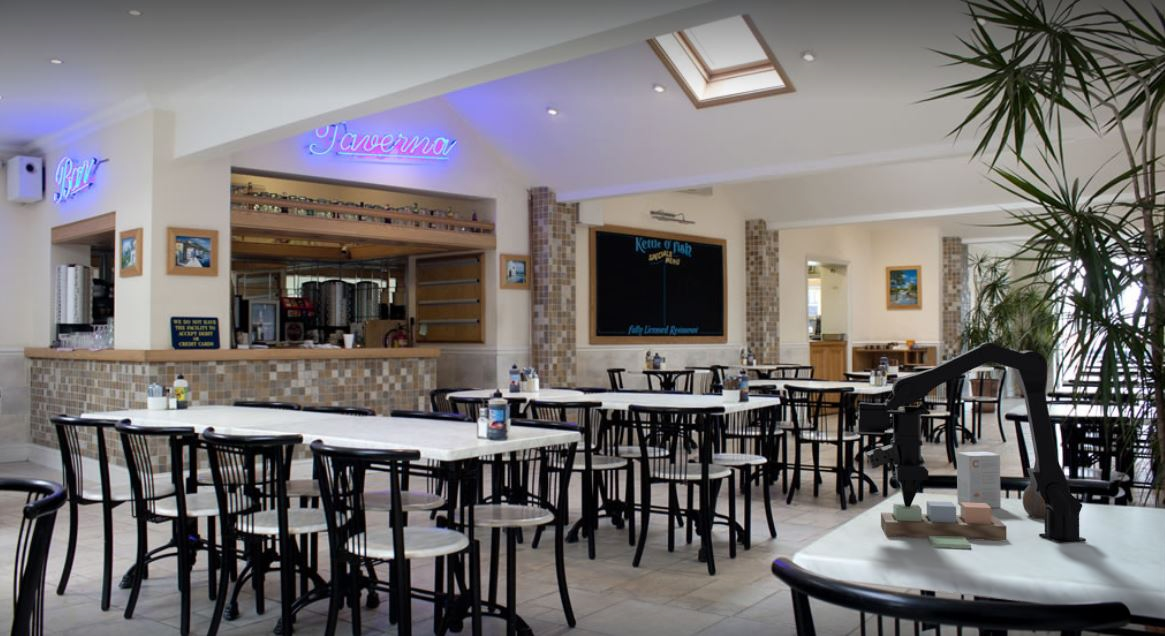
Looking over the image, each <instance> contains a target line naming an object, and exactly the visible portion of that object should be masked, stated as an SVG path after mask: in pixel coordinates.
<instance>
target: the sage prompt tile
mask: <svg viewBox="0 0 1165 636" xmlns="http://www.w3.org/2000/svg"><path fill="white" fill-rule="evenodd" d="M928 540H929V542H930V543H931V545H932V546H933V548H938V547H953V548H952V549H962V548H971V549H972V544H971V543H970V542H969V541H968V539H966V538H965V537H954V536H929V538H928Z"/></svg>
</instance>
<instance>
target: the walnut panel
mask: <svg viewBox="0 0 1165 636" xmlns="http://www.w3.org/2000/svg"><path fill="white" fill-rule="evenodd" d="M880 527H881V529H882V531H883V533H884V532H885V533H884V534H885V536H886V535H887V536H886V537H898V536H905V537H904V538H923V539H924V538H925V539H926V538H928V539H929V536H954V537H965V538H966V540H973V539H984V540H983V541H998V540H1007V526H1006V524H1004V523H1003V522H1002V521H1001V520H1000V519H999V518H998V517H997V516H994V515H991V524H981V523H963V522H962V520H961V514H956V523H953V522H929V521H928V520H927V513H922V521H899V520H894V518H893V512H880Z"/></svg>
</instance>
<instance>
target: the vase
mask: <svg viewBox="0 0 1165 636" xmlns="http://www.w3.org/2000/svg"><path fill="white" fill-rule="evenodd" d="M1022 506H1023V509H1024V511H1025V512H1026V513H1027V515H1029V517H1033V518H1041V519H1045V507H1048V506H1046V505H1045V502H1044V500H1043V499H1042V498H1041V497H1039V496H1038V495H1037V494H1036V492H1035V490H1034V489H1033V488H1031V487H1030V483H1029V484H1028V485H1027V486H1026V488H1025V489H1024V492H1023V495H1022Z"/></svg>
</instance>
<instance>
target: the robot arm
mask: <svg viewBox="0 0 1165 636" xmlns="http://www.w3.org/2000/svg"><path fill="white" fill-rule="evenodd" d="M989 362H991V363H994V364H998V365H1002V366H1005V367H1008V368H1011V369H1012V371H1013V373H1014V376H1015V378H1016V381H1017V383H1018V386H1019V387H1020V390H1021V391H1022V394H1023V398H1024V403H1025V408H1026V414H1027V419H1028V424H1029V431H1030V438H1031V441H1032V448H1033V453H1034V466H1033V467H1027V468H1026V469H1027V473H1028V476H1029V479H1030V483H1029V484H1030V487H1031V488H1033V489H1034V490H1035V492H1036V494H1037V495H1038V496H1039V497H1041V498H1042V499H1043V500H1044V502H1045V505H1046V506H1048V507H1045V518H1044V533H1039V534H1038V536H1039V537H1041V538H1043V539H1047V540H1049V541H1053V542H1056V543H1061V544H1063V543H1079V542H1087V538H1085V537H1082V536H1080V513H1081V510H1082V508H1083V504H1082V502H1080V501H1079V500H1078V499H1077V498H1076V497H1075V496H1074V495H1073V494H1071V489H1070V484H1069V482H1068V480H1067V477H1066V475H1065V472H1064V470H1063V468H1062V466H1061V464H1060V462H1059V460H1058V458H1057V457H1058V456H1057V452H1056V447H1055V441H1054V435H1053V429H1052V424H1051V423H1052V422H1051V417H1050V413H1049V408H1048V401H1047V396H1046V389H1047V383H1048V361H1047V359H1046V357H1045V356H1044V355H1043V354H1041V353H1040V352H1038V351H1033V350H1028V349H1027V350H1021V351H1017V350H1013V349H1010V348H1006V347H1003V346H999V345H996V344H995V343H994V342H982V343H980V344H979V345H978V346H975V347H974V348H972V349H970V350H968V351H966V352H963V353H961V354H960V355H956V356H955V357H952V358H951V359H949V360H947V361H945V362H942V363H940V364H938V365H936V366H934V367H932V368H929V369H926V370H922V371H919V372H914V373H910V374H907V375H904V376H900V377H898V378H897V379H895V380H894V382H893V384H892V386H891V390H892V391H891V393H890V394H889V396H888V397H887V398H886V399H885V401H884V402H883V403H867V402H859V403H858V416H857V430H858V431H857V433H858V434H862V435H863V434H868V435H869V434H871V435H885V434H886V431H888V430H891V415H892V437H891V439H890V444H888V445H885V446H882V447H881V446H880V447H878V448H874V449H872V450H869V451H867V452H865V454H866V458H867V460H868V462H869V465H870V467H871V468H872V470H873V469H878V468H879V467H880V466H884V465H886V464H887V467H888V468H889V469H890V468H893V467H895V470H894V471H890V472H891V474H892V475H893V476H894V478H895V479H896V480H897V481H898V483H899V486H900V487H899V488H900V491H901V492H900V493H901V495H902V496H901V497H902V500H903V504H904V505H905V506H906V507H910V506H911V504H913V502H914V499H915V497H916V495H917V493H918V490H919V488H920V486H921V484H922V482H923V481H929V470H928V469H927V468H926V467H925V466H924V465H923V462H924V461H923V459H922V446H923V440H922V432H921V431H922V427H921V426H922V424H921V423H922V421H921V418H922V416H923V415H924V416H926V415H931V411H930V410H929V409H927V408H926V407H925V405H924V403H922V402H919V404H918V405H917V406H915V405H913V404H915V403H917V402H918V401H919V400H921V399H923V398H924V397H926V396H927V395H928V394H930V392H932V391H933V390H934V389H936V388H938V387H939V386H940V385H942V384H945V383H946V382H949V381H951V380H953V379H955V378H957V377H959V376H961V375H963V374H966V373H967V372H970V371H972V370H975V369H976V368H978V367H980V366H983V365H984V364H987V363H989ZM901 406H903V409H902V410H897V409H899V408H900V407H901Z"/></svg>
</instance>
